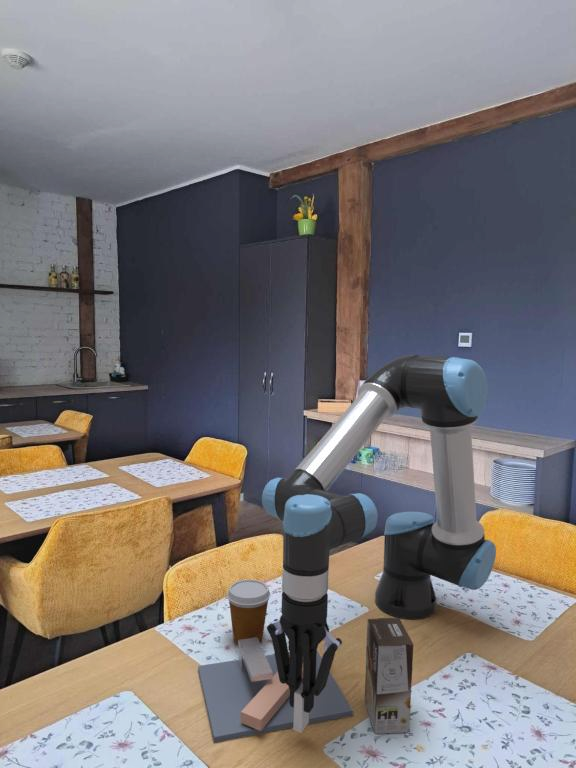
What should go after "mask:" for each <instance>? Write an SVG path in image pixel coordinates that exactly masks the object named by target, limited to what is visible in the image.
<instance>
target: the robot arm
mask: <svg viewBox="0 0 576 768" xmlns="http://www.w3.org/2000/svg"><path fill="white" fill-rule="evenodd" d="M357 392H358V393H357V397H356V398H355V399H354V400H353V402H352V403H351V404H349V406H348V407H347V408H346V410H345V411H344V412H343V413H342V414H341V416H339V418H338V419H337V420H336V422H334V423H333V425H332V426H331V427H330V428H329V430H327V432H326V433H325V434H324V435H323V437H321V439H320V440H319V441H318V442H317V444H315V446H314V447H313V448H312V449H311V450H310V451H309V453H308V454H307V455H306V456H305V458H303V460H301V462H300V463H299V464H298V466H296V468H295V469H294V470H293V471H292V473H291V474H290V475H289V476H288V477H287V478H286V477H275V478H273V479H270V480H269V481H267V483H266V484H265V486H264V489H263V490H262V494H261V503H262V504H261V505H262V507H263V510H264V511H265V512H266V513H267V514H268V515H270V516H272V517H275V518H276V519H278V520H279V521H282V529H283V535H282V536H283V537H282V538H283V539H282V544H283V545H282V577H281V578H282V580H281V590H282V593H281V615H280V618H279V619H278V618H274V620H272V621H271V622H270V624H268V625H267V626H266V631H267V632H268V634H269V636H270V638H271V642H272V643H271V644H272V646H273V654H275V659H276V664H277V670H278V675H279V680H280V682H281V683H282V684H284V683H286V684H287V685H288V686H289V689H290V706H291V707H294V724H293V727H292V729H293V730H294V731H297V732H299V733H303V731H304V729H305V728H306V727H307V726H308V725H309V724H308V723H309V712H310V711H311V710H312V708H313V706H314V695H315V696H319V694H320V693H321V692H322V690H323V689H324V688H325V686H326V683H327V679H328V676H329V672H330V673H331V669H332V666H333V665H332V664H333V662H334V659H335V655H336V652H337V651H338V650H339V649H340V647H341V646H342V644H343V642H342V639H341V638H340V637H337V638H335V637H334V636H333V635H332V634H331V633H330V628H329V625H328V621H327V619H328V608H329V607H328V602H329V596H328V590H329V572H330V571H329V568H330V551H332V550H334V549H337V548H339V547H341V546H343V545H346V544H349V543H351V542H354V541H357V540H361V539H362V538H363V537H365V536H366V535H368V534H371V533H372V532H373V531H374V530H375V528H376V527H377V524H378V518H379V517H378V515H379V514H378V509H377V507H376V505H375V503H374V502H373V500H372V499H371V498H370V497H369V496H368V495H366V494H364V493H361V492H360V493H359V492H358V493H348V494H347V495H340V494H337V493H333V492H330V491H328V490H330V489H331V487H332V486H333V485H334V483H335V481H336V480H337V479H338V478H339V477H340V475H342V473H343V472H344V470H346V468H347V467H348V465H350V463H351V462H352V460H354V458H355V457H356V455H357V454H358V453H359V452H360V451H361V449H362V448H363V447H364V446H365V444H366V443H367V442H368V440H370V438H371V437H372V436H373V434H374V433H375V432H376V431H377V429H378V428H379V427H380V425H381V424H382V423H383V422H384V421H385V419H386V418H387V419H388V418H392V417H393V416H394V415H395V414H396V413H397V412H398V410H400V409H403V408H411V409H412V408H413V409H417V410H420V412H421V413H420V414H421V422H422V423H423V424H424V426H426V427H427V428H429V432H430V433H429V434H430V445H431V446H430V448H431V459H432V460H431V461H432V472H433V483H434V495H435V497H434V498H435V508H436V521H435V520H434V516H433V515H431V514H430V513H428V512H427V513H426V512H422V511H421V512H420V511H403V512H402V511H401V512H395V513H394V514H392V515H390V516H388V517H387V519H386V521H385V527H384V532H383V535H384V546H383V547H384V548H383V570H382V574H381V576H380V579H379V581H378V584H377V587H376V589H375V594H374V596H375V597H374V602H375V604H376V606H377V608H378V609H380V610H381V611H383V612H384V613H386V614H388V615H389V616H392V617H395V618H399V619H400V618H401V619H406V620H408V619H409V620H417V619H419V620H420V619H425V618H428V617H430V616H432V615H433V614H434V613H435V612H436V611H437V595H436V592H435V588H434V586H433V585H434V584H433V581H432V579H431V578H432V577H434V578H437V579H440V580H443V581H445V582H447V583H450V584H452V585H456V586H458V587H459V588H462V587H463V588H465V589H469V590H471V591H477V590H478V589H481V588H482V587H483V586H484V585H485V584H486V582H487V581H488V579H489V578H490V575H491V573H492V571H493V567H494V564H495V561H496V558H497V557H496V556H497V547H496V544H495V543H494V542H492V541H491V539H486V538H485V537H486V536H485V528H484V526H483V524H481V523H480V522H479V521H478V520H477V507H476V505H477V504H476V490H475V489H476V487H475V472H474V470H475V469H474V457H473V439H472V426H473V425H474V424H475V423H476V422H478V419H479V415H481V414H482V413H484V411H485V408H486V406H487V404H488V403H487V402H488V401H487V398H488V397H489V385H488V381H487V377H486V374H485V371H484V370H483V368H482V367H481V366H480V365H479V364H478V362H477V361H474V360H472V359H467V358H460V357H458V356H451V357H450V356H433V355H430V356H429V355H418V354H416V355H415V354H409V355H404V356H399V357H397V358H395V359H393V360H391V361H389V362H387V363H386V364H384V365H383V366H381V367H380V368H377V369H376V371H374V372H373V373H372V374H371V375H370V376H369V377H368V378H367V379H365V381H364V382H363V383H362V384H361V385H360V386H359V388H358V390H357ZM287 640H288V642H287ZM322 641H324V645H323V650H324V653H323V654H322V656H321V658H322V660H321V664H320V667H319V671H318V674H317V678H316V656H317V651H318V648H319V644H321V642H322ZM289 652H290V658H289ZM302 655H303V656H304V661H303V679H302ZM302 680H303V684H301V685H300V683H301V682H302ZM307 724H308V725H307Z"/></svg>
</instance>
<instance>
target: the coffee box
mask: <svg viewBox="0 0 576 768" xmlns="http://www.w3.org/2000/svg"><path fill="white" fill-rule="evenodd" d="M366 626H367V627H366V649H365V650H366V651H365V652H366V653H365V679H364V680H365V681H364V702H365V703H364V704H365V707H366V710H367V712H368V716H369V719H370V723H371V725H372V729H373V732H374V734H377V735H378V734H397V733H398V734H401V733H402V734H403V733H409V732H410V723H411V722H410V721H411V700H412V683H413V682H412V679H413V678H412V677H413V659H414V643H413V641H412V639H411V637H410V635H409V634H408V632H407V630H406V628H405V626H404V625H403V622H402V620H401V619H400V617H378V618H368V619H367V624H366Z"/></svg>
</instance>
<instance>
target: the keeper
mask: <svg viewBox="0 0 576 768" xmlns="http://www.w3.org/2000/svg"><path fill="white" fill-rule="evenodd" d="M237 647H238V658H237V660H238V663H239V666H240V669H241V672H242V671H248V674H249V677H250V680H251V682H255V681H261V680H267V679H273V672H272V670H271V668H270V665H269V663H268V661H267V658H266V654H265V652H264V649H263V647H262V643H261V644H260V642H259V640H258V637H255V638H248V639H241V640H238V646H237Z"/></svg>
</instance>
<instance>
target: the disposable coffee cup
mask: <svg viewBox="0 0 576 768" xmlns="http://www.w3.org/2000/svg"><path fill="white" fill-rule="evenodd" d="M271 595H272V594H271V591H270V589H269V586H268V585H267V584H266V583H265V582H264V581H261V580H257V579H243V580H238V581H236V582H235V581H234V582H233V583H232V584H230V586H229V589H228V591H227V592H226V598H227V599H228V602H229V610H230V618H231V619H230V620H231V627H232V628H231V629H232V636H233V637H232V638H233V643H234V645H236V646H237V647H239V646H238V640H241V639H248V638H255V637H258V640H259V642H260V644H261V645H262V642H263V636H264V630H265V623H266V617H267V610H268V604H269V603H268V602H269V600H270V598H271Z"/></svg>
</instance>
